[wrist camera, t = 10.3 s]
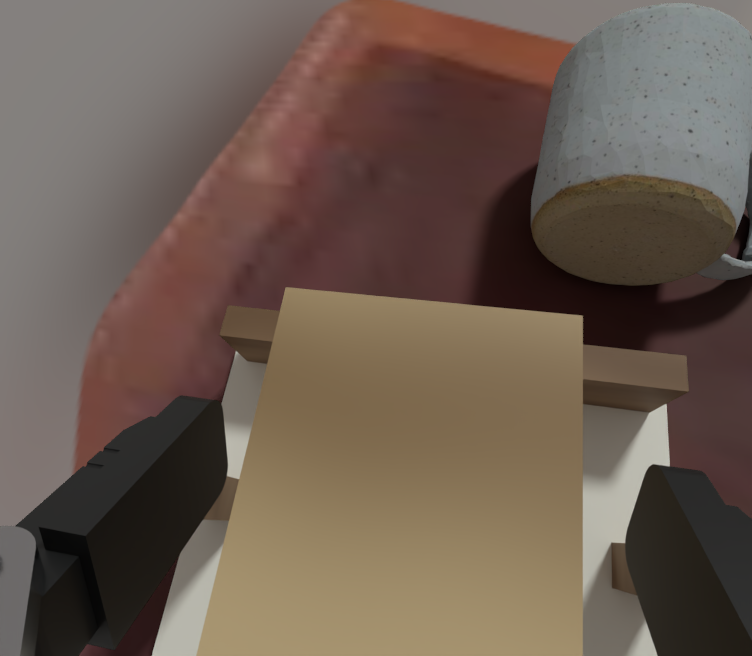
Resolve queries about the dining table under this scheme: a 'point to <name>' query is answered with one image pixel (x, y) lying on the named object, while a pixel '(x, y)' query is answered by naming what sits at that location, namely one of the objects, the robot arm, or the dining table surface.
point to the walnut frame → (600, 388)
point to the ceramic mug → (649, 149)
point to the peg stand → (600, 522)
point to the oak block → (408, 486)
